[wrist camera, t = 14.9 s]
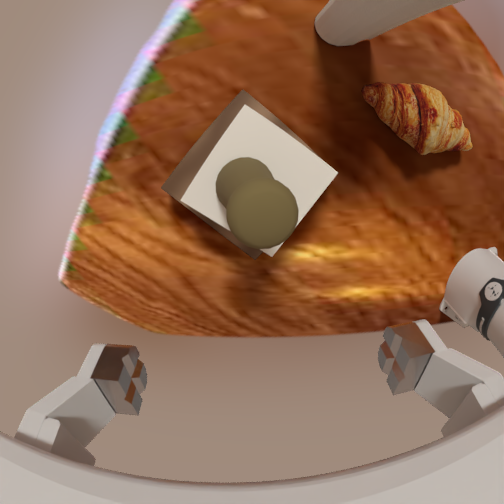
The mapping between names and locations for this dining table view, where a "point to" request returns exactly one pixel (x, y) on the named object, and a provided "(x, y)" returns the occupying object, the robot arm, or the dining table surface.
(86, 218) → the dining table surface
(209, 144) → the tower base block
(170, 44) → the dining table surface
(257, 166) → the olive green pawn
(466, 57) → the dining table surface
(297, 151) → the tower top block
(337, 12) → the paper towel roll
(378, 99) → the croissant
